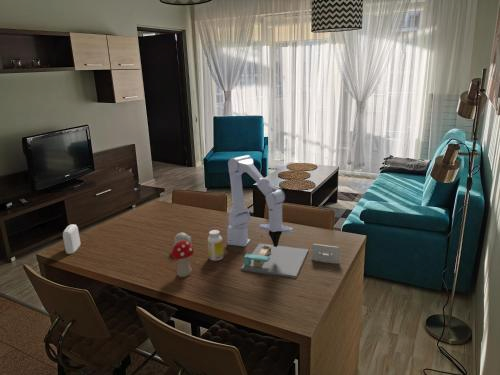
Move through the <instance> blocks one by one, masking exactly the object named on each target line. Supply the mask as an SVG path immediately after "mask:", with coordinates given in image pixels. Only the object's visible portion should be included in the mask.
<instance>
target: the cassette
mask: <svg viewBox="0 0 500 375" xmlns="http://www.w3.org/2000/svg"><path fill="white" fill-rule="evenodd" d="M340 250H341V248H340V246H335V245H327V244H319V243H312V244H311V260H312V261H315V262H322V263H328V264H337V265H338V264H339V263H340Z"/></svg>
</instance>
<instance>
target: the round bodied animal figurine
mask: <svg viewBox="0 0 500 375" xmlns="http://www.w3.org/2000/svg"><path fill="white" fill-rule="evenodd" d="M192 236H193V235H191V234H190V235H188V233H185V232H182V231H181V232H178V233H177V234H176V235H175V236H174V239H173V243H174V244H173V245H172V249H173V248H174V246H175V244H176V243H178V242H179V241H188V242H189V243H190V244H191V245H192Z"/></svg>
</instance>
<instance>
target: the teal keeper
mask: <svg viewBox="0 0 500 375" xmlns="http://www.w3.org/2000/svg"><path fill="white" fill-rule="evenodd" d="M243 258H244V261H243V262H244V263H243V265H244V264H245V265H250V263H251V260H256V261H264V262H268V261H269V259H270V257H268V256H260V255H253V254H252V253H246V254H245V255H244V257H243Z"/></svg>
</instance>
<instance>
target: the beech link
mask: <svg viewBox="0 0 500 375" xmlns="http://www.w3.org/2000/svg"><path fill="white" fill-rule="evenodd" d="M270 245H271V244H268V245H263V246H262V249H261V251H260V253H259V254H258V255H260V256H267V255H268V254H269V253H271V246H270ZM263 262H264V261H256V260H254V262H253V263H254V267H261V265H262V264H263Z"/></svg>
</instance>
